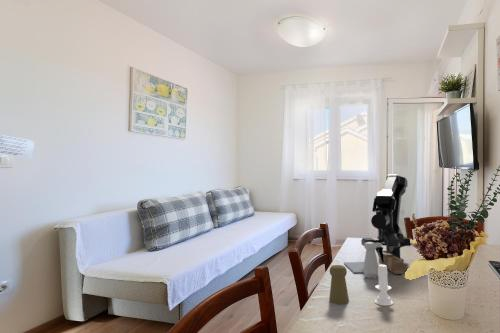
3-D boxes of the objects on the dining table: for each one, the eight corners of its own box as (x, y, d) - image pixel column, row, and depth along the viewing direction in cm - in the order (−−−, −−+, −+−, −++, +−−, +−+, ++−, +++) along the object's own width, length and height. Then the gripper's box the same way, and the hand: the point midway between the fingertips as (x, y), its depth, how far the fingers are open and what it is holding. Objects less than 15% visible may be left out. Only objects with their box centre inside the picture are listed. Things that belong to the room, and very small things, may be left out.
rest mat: (344, 263, 156) (344, 262, 156) (367, 263, 156) (367, 261, 156) (354, 273, 142) (353, 272, 142) (379, 272, 142) (379, 271, 142)
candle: (386, 307, 108) (385, 266, 108) (371, 302, 112) (369, 263, 112) (396, 302, 111) (395, 263, 111) (381, 298, 115) (380, 260, 115)
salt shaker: (380, 279, 133) (379, 244, 133) (364, 279, 134) (363, 244, 134) (378, 274, 139) (377, 240, 139) (362, 274, 140) (361, 240, 140)
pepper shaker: (345, 305, 110) (344, 269, 110) (326, 302, 113) (325, 266, 113) (351, 299, 115) (350, 264, 115) (333, 296, 118) (331, 262, 118)
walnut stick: (379, 262, 154) (378, 251, 154) (386, 262, 154) (386, 250, 154) (395, 274, 138) (394, 261, 138) (403, 273, 138) (402, 260, 138)
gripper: (369, 229, 142) (370, 269, 142) (417, 227, 142) (418, 267, 142) (360, 224, 153) (361, 261, 153) (404, 222, 153) (405, 259, 153)
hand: (386, 262), depth 150 cm, fingers closed on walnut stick, 3 cm apart
